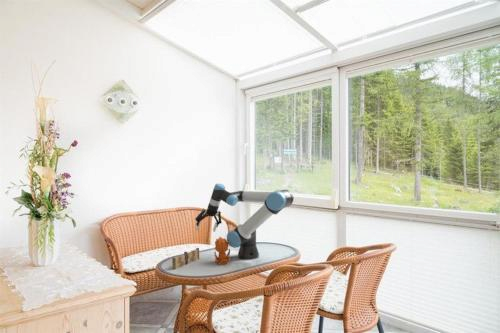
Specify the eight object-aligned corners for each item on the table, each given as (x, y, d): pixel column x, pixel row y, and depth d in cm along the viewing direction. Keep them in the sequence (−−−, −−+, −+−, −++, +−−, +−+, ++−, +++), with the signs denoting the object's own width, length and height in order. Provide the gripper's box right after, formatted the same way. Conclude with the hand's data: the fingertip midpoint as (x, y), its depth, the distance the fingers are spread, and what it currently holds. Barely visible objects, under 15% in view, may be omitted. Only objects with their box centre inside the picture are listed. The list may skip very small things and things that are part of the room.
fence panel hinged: (188, 263, 233) (188, 252, 233) (186, 263, 234) (186, 252, 233) (199, 258, 243) (199, 248, 243) (197, 258, 244) (197, 247, 244)
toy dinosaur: (227, 259, 241) (225, 234, 240) (233, 263, 231) (231, 237, 231) (212, 262, 236) (210, 236, 235) (217, 266, 226) (216, 239, 226)
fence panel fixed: (185, 263, 233) (185, 251, 233) (188, 264, 232) (187, 251, 232) (172, 269, 221) (172, 256, 221) (174, 270, 221) (174, 257, 220)
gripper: (227, 204, 256) (218, 229, 261) (196, 199, 244) (188, 226, 248) (231, 208, 250) (222, 234, 255) (199, 204, 237) (191, 231, 242)
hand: (205, 230), depth 252 cm, fingers open, 13 cm apart
